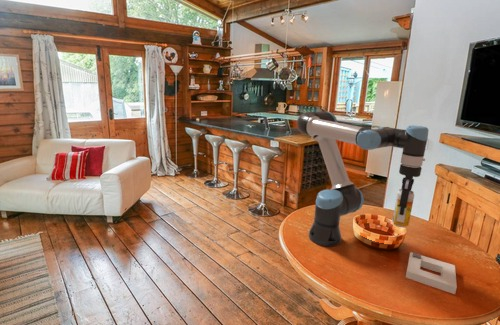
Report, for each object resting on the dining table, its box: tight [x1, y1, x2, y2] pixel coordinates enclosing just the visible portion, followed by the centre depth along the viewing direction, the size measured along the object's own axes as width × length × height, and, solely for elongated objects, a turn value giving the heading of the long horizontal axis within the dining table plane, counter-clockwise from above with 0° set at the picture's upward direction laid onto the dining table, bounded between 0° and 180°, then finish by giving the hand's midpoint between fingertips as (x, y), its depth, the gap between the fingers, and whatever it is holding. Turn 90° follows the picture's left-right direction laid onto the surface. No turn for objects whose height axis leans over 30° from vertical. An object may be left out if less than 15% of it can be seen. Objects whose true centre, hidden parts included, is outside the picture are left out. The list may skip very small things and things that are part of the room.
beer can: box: [392, 188, 415, 229], centre depth 118 cm, size 6×6×15 cm
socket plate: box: [405, 251, 458, 295], centre depth 114 cm, size 16×16×4 cm
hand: (401, 218), depth 119 cm, fingers closed on beer can, 6 cm apart
